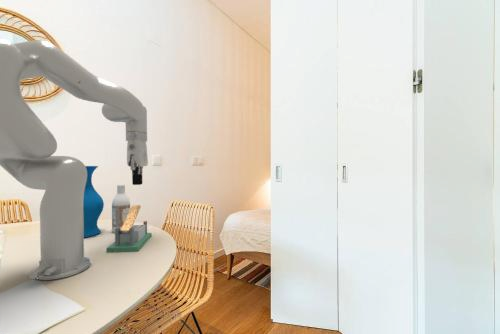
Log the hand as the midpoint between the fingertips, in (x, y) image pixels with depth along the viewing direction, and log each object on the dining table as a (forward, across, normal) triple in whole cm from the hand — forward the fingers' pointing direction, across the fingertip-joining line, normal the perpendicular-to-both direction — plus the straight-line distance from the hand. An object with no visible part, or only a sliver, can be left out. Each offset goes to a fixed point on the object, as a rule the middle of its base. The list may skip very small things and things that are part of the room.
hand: (137, 184), depth 94 cm
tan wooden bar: (+12, -7, 0) cm, 14 cm away
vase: (+21, +6, +22) cm, 31 cm away
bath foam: (+22, +10, +10) cm, 26 cm away
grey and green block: (+21, -7, 0) cm, 22 cm away
